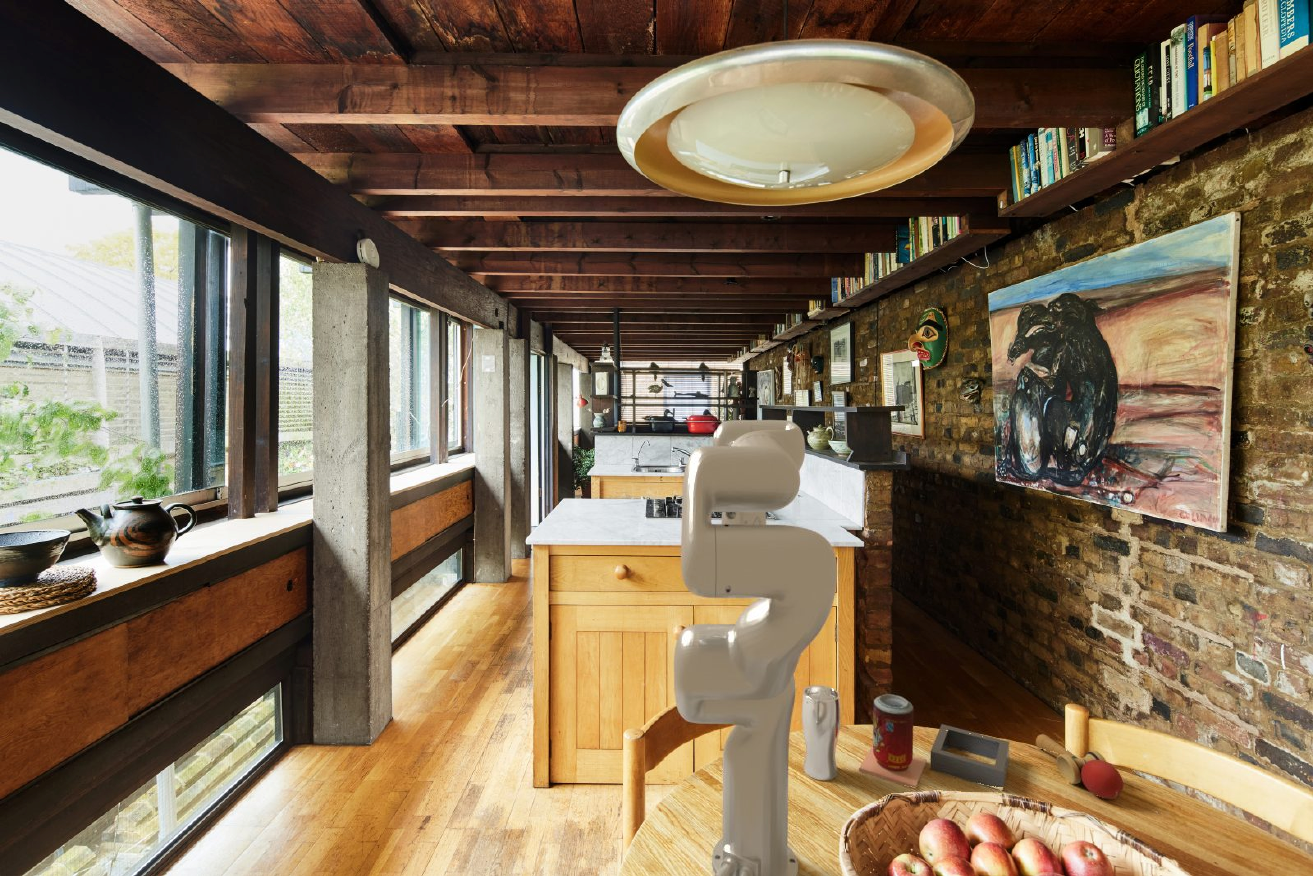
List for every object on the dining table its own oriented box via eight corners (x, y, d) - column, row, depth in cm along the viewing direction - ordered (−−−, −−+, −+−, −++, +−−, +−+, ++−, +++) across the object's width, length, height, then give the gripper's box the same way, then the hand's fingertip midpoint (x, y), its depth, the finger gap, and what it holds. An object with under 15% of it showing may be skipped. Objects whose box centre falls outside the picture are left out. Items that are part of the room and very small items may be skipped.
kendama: (1021, 757, 122) (1091, 802, 104) (1024, 724, 123) (1095, 763, 105) (1057, 762, 123) (1134, 808, 105) (1060, 730, 124) (1137, 769, 106)
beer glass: (844, 782, 112) (845, 701, 111) (805, 782, 112) (806, 701, 111) (834, 760, 119) (834, 684, 118) (797, 760, 119) (798, 684, 118)
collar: (1003, 791, 109) (1003, 772, 109) (930, 769, 116) (930, 751, 116) (1008, 759, 119) (1009, 741, 119) (941, 740, 126) (941, 724, 126)
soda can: (866, 753, 120) (868, 692, 119) (902, 753, 120) (904, 691, 120) (881, 775, 113) (882, 710, 112) (919, 774, 113) (920, 709, 113)
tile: (915, 789, 110) (915, 786, 110) (858, 771, 115) (859, 768, 115) (926, 762, 118) (926, 759, 118) (873, 746, 124) (873, 743, 124)
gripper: (740, 495, 103) (740, 596, 104) (781, 484, 117) (780, 573, 118) (701, 492, 107) (701, 589, 108) (745, 482, 121) (744, 568, 122)
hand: (742, 581), depth 113 cm, fingers open, 9 cm apart
